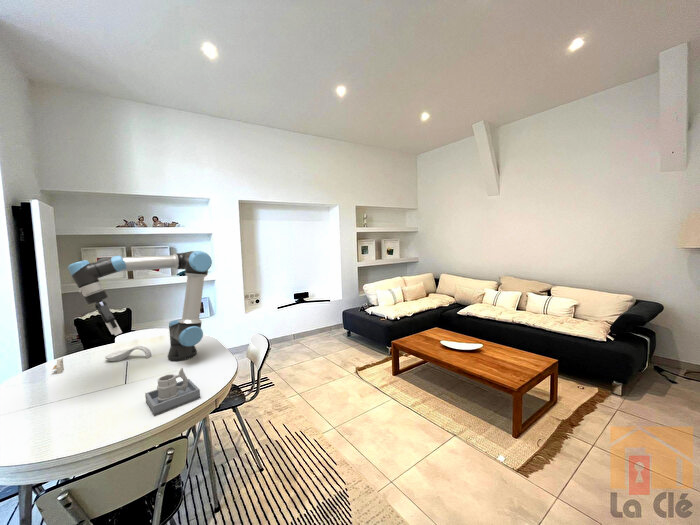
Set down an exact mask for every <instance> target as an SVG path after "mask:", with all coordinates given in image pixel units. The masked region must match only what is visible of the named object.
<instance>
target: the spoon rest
mask: <svg viewBox="0 0 700 525" xmlns="http://www.w3.org/2000/svg"><path fill="white" fill-rule="evenodd" d="M135 350H140V351H142V352H143V353H144V354H145V358H146V359H149V358H150V357H152V354H153V353H152V352H151V350H150V349H149V348H148V347H147V346H143V345H137V346H134V347H131V348H129V349H123V350H118V351H114V352H112V353H110V354H108V355H105V356H104V358H105V360H106V361H108V362H120V361H123V360H125V359H126V358H128V357H129V356H130V355H131V354H132V353H133V352H134V351H135Z"/></svg>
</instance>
